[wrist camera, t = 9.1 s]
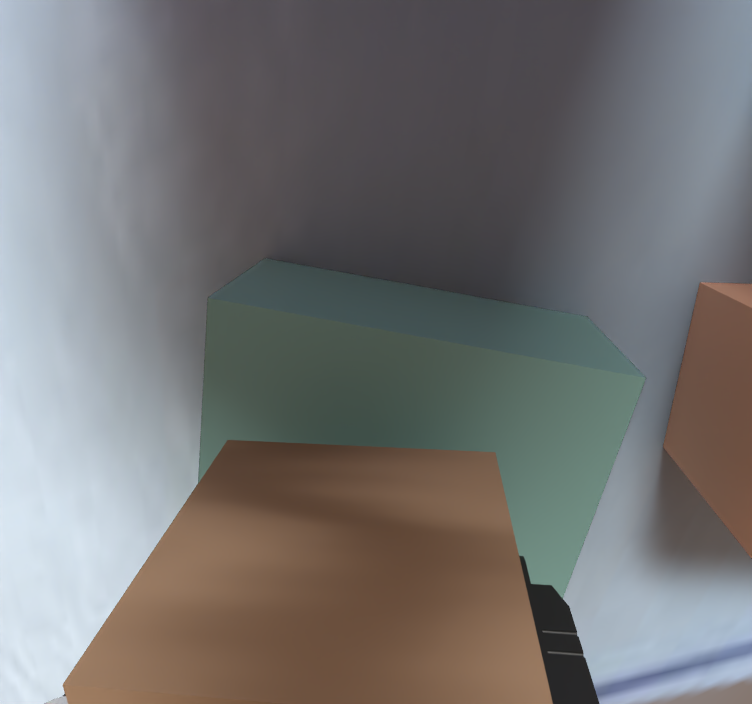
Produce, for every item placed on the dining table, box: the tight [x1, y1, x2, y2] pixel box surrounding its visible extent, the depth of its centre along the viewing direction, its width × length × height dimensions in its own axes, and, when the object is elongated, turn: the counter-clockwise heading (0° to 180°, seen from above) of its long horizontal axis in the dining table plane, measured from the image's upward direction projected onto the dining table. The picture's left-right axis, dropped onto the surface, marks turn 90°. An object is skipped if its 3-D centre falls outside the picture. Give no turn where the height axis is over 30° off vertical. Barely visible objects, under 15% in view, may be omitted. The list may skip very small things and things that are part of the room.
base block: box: [198, 258, 646, 599], centre depth 16 cm, size 10×10×5 cm
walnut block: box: [63, 440, 553, 704], centre depth 9 cm, size 6×6×6 cm
